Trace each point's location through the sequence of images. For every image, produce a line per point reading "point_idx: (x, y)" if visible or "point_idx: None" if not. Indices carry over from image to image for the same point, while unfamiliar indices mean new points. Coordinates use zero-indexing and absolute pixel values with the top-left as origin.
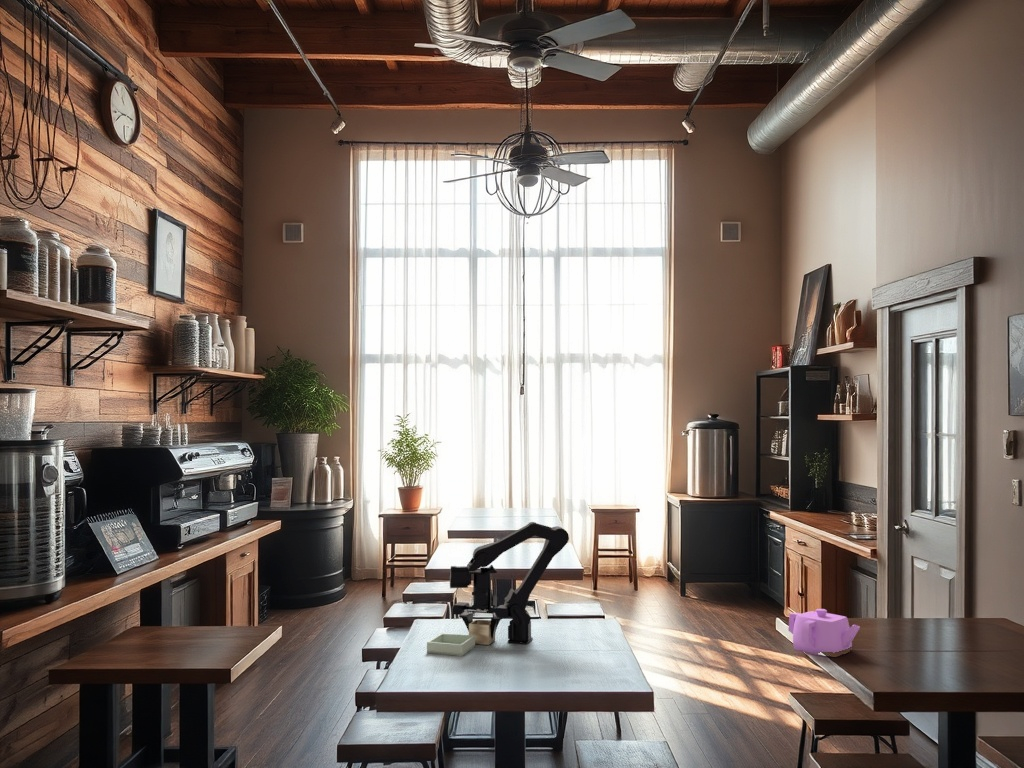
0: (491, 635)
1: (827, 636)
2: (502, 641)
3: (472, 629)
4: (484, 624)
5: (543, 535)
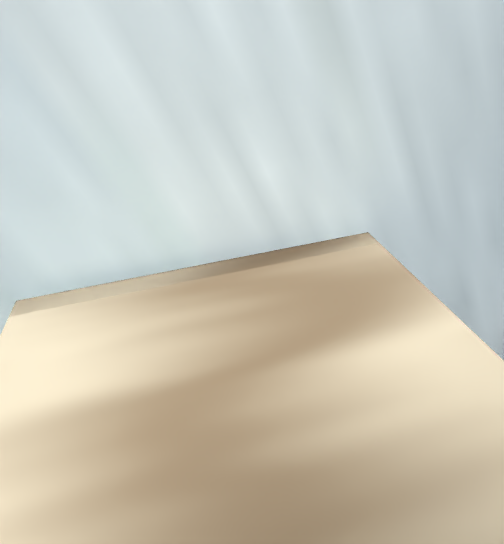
0: None
1: None
2: (476, 216)
3: None
4: (234, 529)
5: None
